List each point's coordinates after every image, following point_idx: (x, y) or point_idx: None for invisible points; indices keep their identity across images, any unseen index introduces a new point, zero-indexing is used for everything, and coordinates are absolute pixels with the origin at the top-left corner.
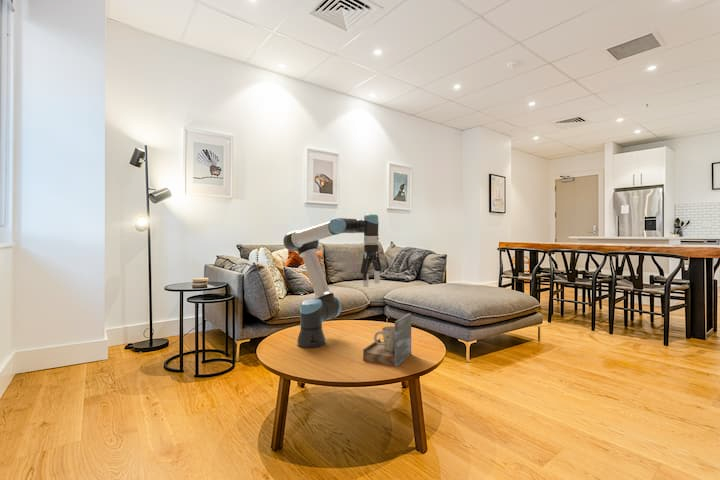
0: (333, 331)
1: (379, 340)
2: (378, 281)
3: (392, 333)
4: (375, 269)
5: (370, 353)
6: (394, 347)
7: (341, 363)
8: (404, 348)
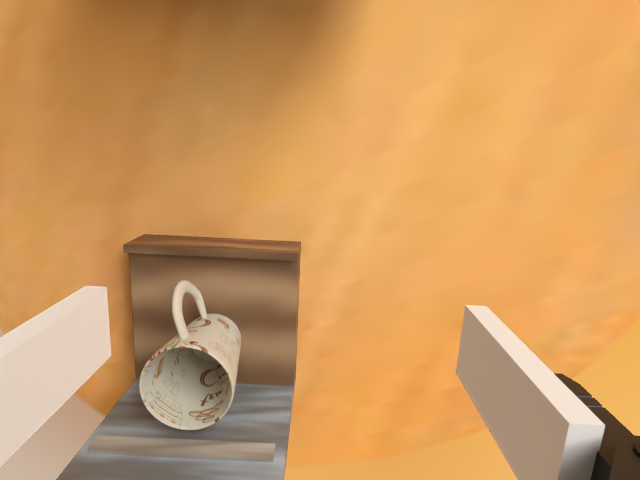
0: None
1: (288, 259)
2: (465, 381)
3: (153, 401)
4: (609, 477)
5: (131, 276)
6: (191, 366)
7: (69, 167)
8: None
